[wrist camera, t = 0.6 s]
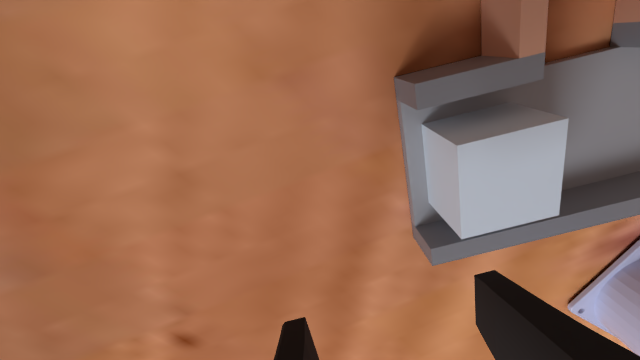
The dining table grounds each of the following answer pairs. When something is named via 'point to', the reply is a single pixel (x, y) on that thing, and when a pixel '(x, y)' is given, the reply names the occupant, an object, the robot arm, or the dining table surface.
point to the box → (542, 94)
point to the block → (495, 167)
